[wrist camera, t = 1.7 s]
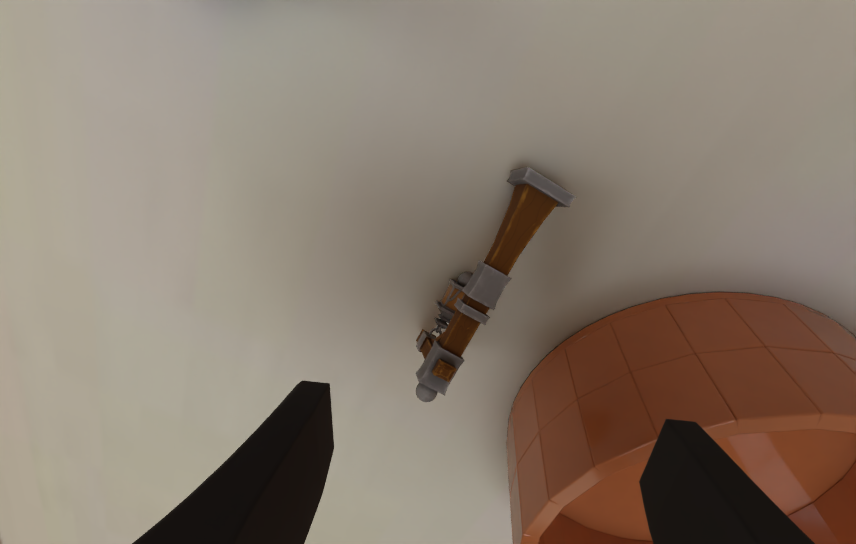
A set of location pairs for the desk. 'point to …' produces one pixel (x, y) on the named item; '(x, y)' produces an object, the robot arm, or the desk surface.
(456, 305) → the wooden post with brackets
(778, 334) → the orange brown bowl
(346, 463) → the desk surface
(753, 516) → the robot arm
